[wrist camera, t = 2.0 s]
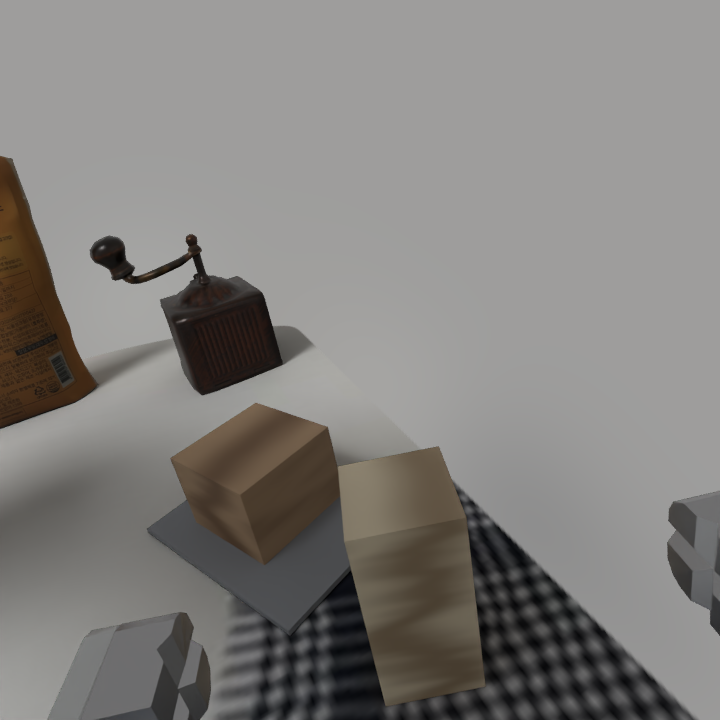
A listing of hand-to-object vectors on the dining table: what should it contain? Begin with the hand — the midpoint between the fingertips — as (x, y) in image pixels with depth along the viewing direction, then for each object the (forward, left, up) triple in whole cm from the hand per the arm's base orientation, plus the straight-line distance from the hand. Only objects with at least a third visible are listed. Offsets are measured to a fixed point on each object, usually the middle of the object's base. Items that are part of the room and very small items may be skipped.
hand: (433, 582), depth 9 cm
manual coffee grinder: (-51, +25, -20) cm, 60 cm away
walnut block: (-25, +12, -19) cm, 33 cm away
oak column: (-9, +9, -19) cm, 23 cm away
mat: (-24, +11, -19) cm, 32 cm away
